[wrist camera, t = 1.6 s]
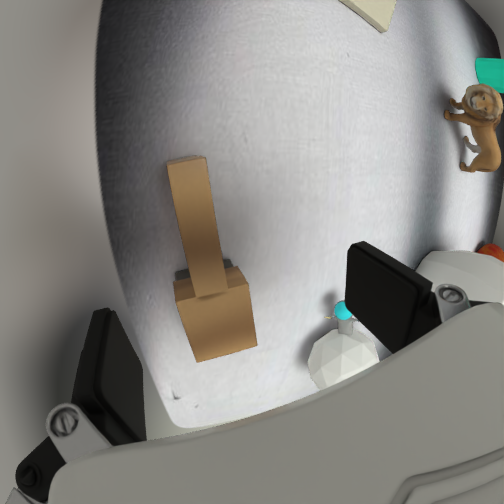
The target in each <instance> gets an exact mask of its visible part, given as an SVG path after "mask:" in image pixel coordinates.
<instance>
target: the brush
mask: <svg viewBox="0 0 504 504" xmlns="http://www.w3.org/2000/svg"><path fill="white" fill-rule="evenodd" d="M167 171H168V176H169V182H170V187H171V192H172V197H173V202H174V207H175V212H176V216H177V221H178V226H179V230H180V235H181V239H182V243H183V248H184V252H185V256H186V260H187V264H188V268H189V269H188V270H184V271H179V272H176V273H175V277H176V281H174V282H173V286H174V294H175V302H176V305H177V308H178V311H179V314H180V317H181V320H182V323H183V326H184V329H185V332H186V335H187V337H188V340H189V343H190V346H191V348H192V351H193V354H194V357H195V359H196V362H197V363H198V362H202V361H206V360H209V359H213V358H217V357H221V356H224V355H228V354H231V353H235V352H238V351H242V350H245V349H249V348H252V347H255V346H257V339H256V332H255V325H254V319H253V312H252V305H251V298H250V291H249V284H248V282H247V281H246V279H245V277H244V276H243V274H242V272H241V271H240V269H239V267H238V266H233V264H232V262H231V261H230V259H228V260H224V261H223V258H222V253H221V247H220V241H219V236H218V230H217V224H216V218H215V212H214V206H213V200H212V194H211V188H210V182H209V175H208V169H207V162H206V158H205V157H203V156H197V155H194V156H189V157H184V158H179V159H174V160H170V161H167Z"/></svg>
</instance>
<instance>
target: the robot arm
mask: <svg viewBox="0 0 504 504" xmlns="http://www.w3.org/2000/svg"><path fill="white" fill-rule="evenodd" d="M432 285H433V282H431V281H430V280H428V279H426V278H425V277H423V276H422V275H420V274H419V273H417V272H415V271H414V270H412V269H411V268H409V267H407V266H406V265H404V264H402V263H401V262H399V261H397V260H396V259H394V258H393V257H391V256H389V255H387V254H386V253H384V252H382V251H381V250H379V249H377V248H376V247H374V246H372V245H370V244H369V243H367V242H365V241H361V242H358V243H354V244H352V245H351V246H350V248H349V249H348V252H347V272H346V289H345V306H346V308H347V310H348V311H349V312H350V313H352V314H353V315H354V316H355V317H356V318H357V319H358V320H359V321H360V322H361V323H362V324H363V325H364V326H365V327H366V328H367V329H368V330H369V331H370V332H371V333H372V334H373V335H374V336H375V337H376V338H377V339H378V340H379V341H380V342H381V343H382V344H383V345H384V346H385V347H386V348H388V349H389V350H390V351H391V352H392V353H393V355H391V356H389V357H387V358H386V359H384V360H382V361H380V362H378V363H376V364H375V365H373V366H371V367H369V368H367V369H365V370H363V371H361V372H359V373H357V374H355V375H353V376H351V377H349V378H347V379H345V380H343V381H341V382H339V383H337V384H334V385H332V386H330V387H328V388H325V389H323V390H321V391H319V392H316V393H314V394H311V395H309V396H307V397H304V398H302V399H299V400H296V401H294V402H291V403H289V404H286V405H283V406H280V407H278V408H275V409H272V410H269V411H266V412H263V413H260V414H257V415H254V416H251V417H248V418H245V419H241V420H238V421H234V422H231V423H227V424H223V425H220V426H216V427H212V428H208V429H204V430H199V431H195V432H190V433H186V434H181V435H176V436H171V437H166V438H160V439H154V440H148V441H147V439H146V427H145V414H144V395H143V369H142V365H141V362H140V360H139V358H138V356H137V354H136V353H135V351H134V349H133V347H132V345H131V343H130V341H129V339H128V337H127V335H126V333H125V331H124V329H123V327H122V325H121V322H120V321H119V318H118V316H117V314H116V312H115V311H114V310H113V311H111V310H110V309H109V308H104V309H100V310H96V311H94V312H93V315H92V319H91V322H90V326H89V329H88V333H87V337H86V340H85V344H84V348H83V350H82V352H81V356H80V361H79V366H78V369H77V374H76V379H75V384H74V389H73V394H72V401H71V403H63V404H60V405H58V406H56V407H55V408H54V409H53V410H52V411H51V412H50V413H49V415H48V417H47V420H46V430H47V432H48V435H49V436H48V437H47V438H46V439H45V440H44V441H43V442H42V443H41V444H40V445H39V446H37V447H36V448H35V449H34V450H33V451H32V452H31V453H30V454H29V455H28V456H27V457H26V458H25V459H24V460H23V461H22V462H21V463H20V464H19V465H18V467H17V470H16V483H17V485H18V489H16V488H13V490H12V491H11V493H10V495H9V497H8V499H7V502H6V504H504V305H503V304H501V303H498V302H496V303H494V302H483V301H473V300H469V299H468V297H467V295H466V293H465V291H463V290H462V289H461V288H459V287H458V286H455V285H452V284H441V285H439V286H437V287H436V289H435V292H432V291H431V289H432Z"/></svg>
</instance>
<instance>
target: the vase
mask: <svg viewBox="0 0 504 504" xmlns="http://www.w3.org/2000/svg"><path fill="white" fill-rule="evenodd" d="M415 272H417V273H419V274H420V275H422V276H423V277H425V278H426V279H428V280H430V281H431V282H433V285H432V289H431V291H432V292H435V289H436V287H437V286H439V285H441V284H452V285H455V286H458V287H459V288H461V289H462V290H463V291H465V293H466V295H467V297H468V299H469V300H473V301H483V302H494V303H496V302H498V303H501V304H503V305H504V262H502V261H500V260H498V259H497V258H495V257H493V256H489V255H484V254H480V253H475V252H470V251H431V252H430V253H429V254H428V255H427V256H426V257H425V258H423V260H422V262H421V263H420V265H419V266H418V268H417V269H416V271H415Z"/></svg>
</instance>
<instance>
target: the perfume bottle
mask: <svg viewBox="0 0 504 504" xmlns="http://www.w3.org/2000/svg"><path fill="white" fill-rule="evenodd" d="M334 311H335V315H336V316H332V315H331V316H330V317H324V318H328V319H329V318H330V319H331V318H332V317H334V318H336V319H337V321H338V329H334V330H331V331H330V332H329V333H327V334H326V335H325V336H323V337H322V338H320V339H319V340H317V341H316V342H315V343H314V345H313V348H312V351H311V354H310V357H309V360H308V362H307V363H308V368H309V373H310V377H311V379H312V381H313V382H314V383H315V385H316V386H317V388H318V389H319V390H320V391H321V390H323V389H325V388H328V387H330V386H332V385H334V384H337V383H339V382H341V381H343V380H345V379H347V378H349V377H351V376H353V375H355V374H357V373H359V372H361V371H363V370H365V369H367V368H369V367H371V366H373V365H375V364H376V363H378V362H379V359H378V355H377V351H376V348H375V344H374V341H373V340H371V339H370V338H369V337H367V336H366V335H365V334H364V333H362V332H360V331H358V330H357V329H353V322H355V321H358V322H359V320H357V319H354V318H352V316H353V314H352V313H350V312H349V311H348V310H347V308H346V306H345V300H343V301H339V302H338V303H337V304H336V305H335V310H334Z"/></svg>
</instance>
